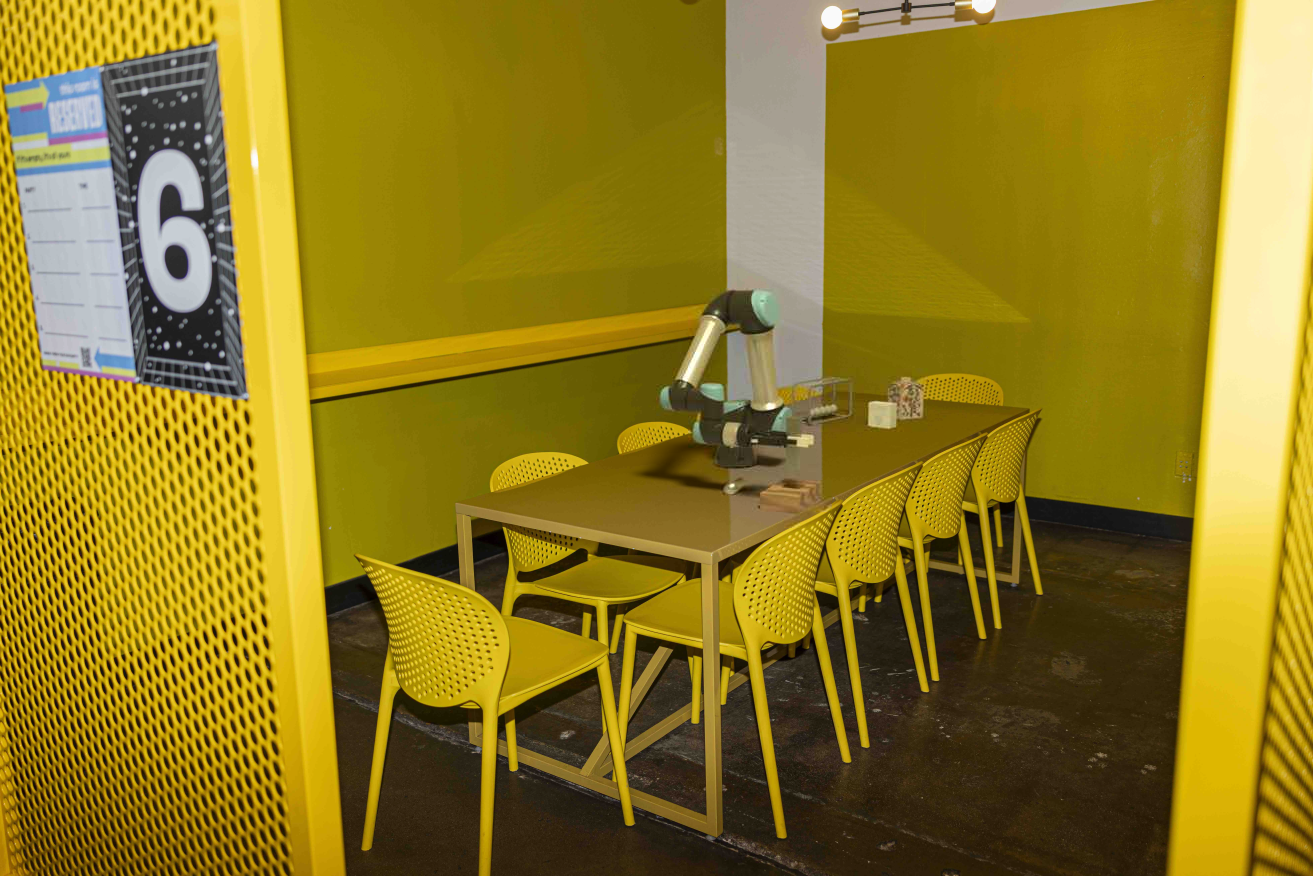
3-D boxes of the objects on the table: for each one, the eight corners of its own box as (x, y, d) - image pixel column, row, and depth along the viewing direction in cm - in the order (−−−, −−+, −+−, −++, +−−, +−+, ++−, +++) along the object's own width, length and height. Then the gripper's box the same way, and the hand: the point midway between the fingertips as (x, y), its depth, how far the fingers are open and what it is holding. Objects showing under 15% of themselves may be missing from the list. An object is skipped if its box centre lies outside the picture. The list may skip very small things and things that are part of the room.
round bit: (734, 483, 323) (740, 475, 322) (742, 490, 322) (748, 482, 321) (721, 490, 315) (727, 482, 313) (730, 497, 314) (735, 489, 312)
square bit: (790, 466, 304) (790, 416, 301) (801, 467, 303) (801, 416, 300) (785, 469, 301) (786, 418, 298) (796, 470, 300) (797, 418, 296)
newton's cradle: (809, 426, 424) (810, 385, 420) (791, 423, 431) (791, 383, 428) (852, 417, 443) (853, 378, 440) (833, 414, 451) (834, 375, 447)
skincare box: (896, 426, 418) (897, 402, 416) (889, 429, 413) (890, 404, 411) (874, 424, 425) (875, 400, 423) (867, 426, 420) (868, 402, 418)
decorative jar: (886, 416, 443) (887, 376, 439) (909, 414, 446) (910, 375, 443) (900, 420, 432) (901, 380, 428) (923, 418, 435) (925, 378, 432)
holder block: (784, 493, 314) (785, 478, 313) (820, 497, 308) (820, 482, 307) (760, 508, 297) (760, 492, 296) (797, 513, 291) (797, 497, 290)
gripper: (750, 442, 317) (819, 448, 306) (728, 452, 303) (800, 459, 291) (750, 419, 315) (820, 424, 304) (728, 428, 301) (800, 434, 290)
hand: (810, 441), depth 298 cm, fingers closed on square bit, 4 cm apart
